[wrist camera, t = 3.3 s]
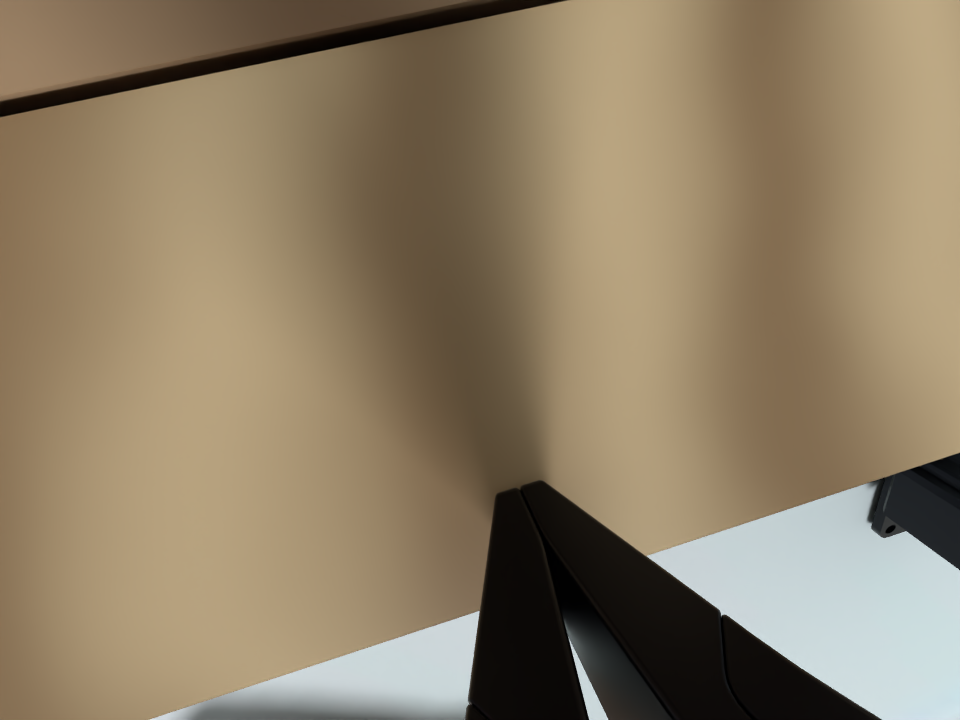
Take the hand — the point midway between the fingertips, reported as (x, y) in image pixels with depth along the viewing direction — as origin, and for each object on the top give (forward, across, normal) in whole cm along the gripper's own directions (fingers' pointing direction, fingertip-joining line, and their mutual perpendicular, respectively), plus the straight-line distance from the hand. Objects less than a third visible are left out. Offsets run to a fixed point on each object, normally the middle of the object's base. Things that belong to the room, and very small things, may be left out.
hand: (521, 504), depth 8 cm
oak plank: (+3, 0, -2) cm, 4 cm away
